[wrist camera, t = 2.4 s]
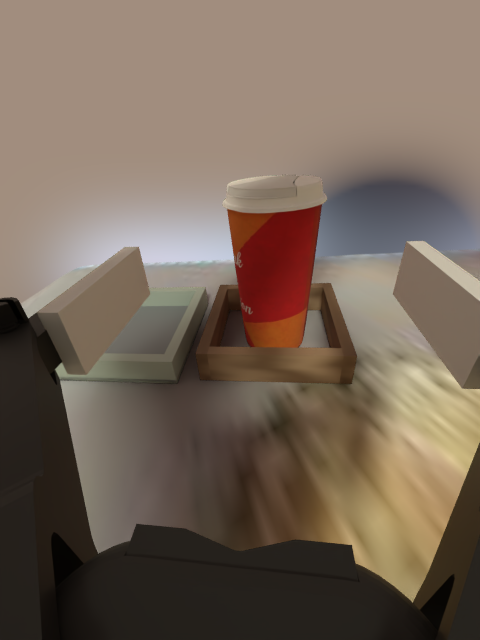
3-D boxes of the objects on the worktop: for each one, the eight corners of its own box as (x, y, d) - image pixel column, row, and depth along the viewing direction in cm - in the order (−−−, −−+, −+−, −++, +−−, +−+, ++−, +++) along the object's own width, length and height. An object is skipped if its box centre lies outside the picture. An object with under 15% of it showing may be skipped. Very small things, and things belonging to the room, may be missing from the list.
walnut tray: (328, 305, 35) (330, 283, 33) (351, 383, 24) (357, 356, 23) (222, 306, 37) (220, 285, 35) (200, 379, 26) (195, 354, 24)
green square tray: (208, 304, 37) (205, 287, 36) (177, 383, 26) (171, 361, 24) (106, 305, 39) (100, 288, 38) (34, 379, 27) (22, 359, 26)
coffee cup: (256, 310, 35) (251, 173, 27) (324, 325, 32) (340, 172, 23) (219, 349, 29) (197, 189, 21) (297, 374, 26) (307, 191, 17)
